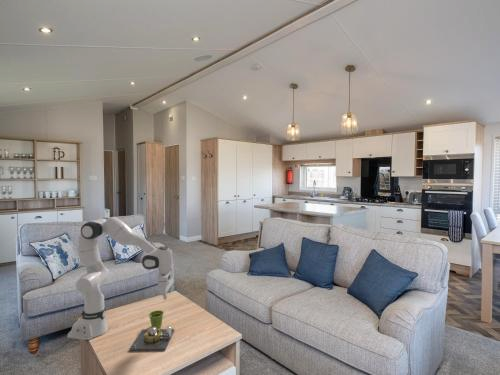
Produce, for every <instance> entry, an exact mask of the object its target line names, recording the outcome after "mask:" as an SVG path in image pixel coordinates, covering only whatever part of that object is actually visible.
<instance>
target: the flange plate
mask: <svg viewBox="0 0 500 375" xmlns="http://www.w3.org/2000/svg"><path fill="white" fill-rule="evenodd" d="M148 329H149V333H150V336H154V334H156V333H157V329H158V328H157V329H156V327H152V326H150V328H147V329H142V330H141V331H140V333H139V334H138V335H137V337H136V338H135V340H134V341H133V342H132V344H131V346H130V347H129V352H140V351H141V352H143V351H144V352H146V351H148V352H149V351H153V352H154V351H155V352H157V351H166V350H167V348H168V346H169V344H170V342H171V339H172V337H173V335H174V333H175V329H174V328H171V337H169V338H168V337H162V338H161V339H160V340H158V341H156V342H149V343H147V342H146V341H144V334H145V332H147V331H148ZM161 331H162V334H167V328H164V329H163V328H161Z"/></svg>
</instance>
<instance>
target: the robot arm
mask: <svg viewBox="0 0 500 375" xmlns="http://www.w3.org/2000/svg"><path fill="white" fill-rule="evenodd" d="M105 235H109V236H110V237H111V238H112V239H113V240H114V241H115V242H116V243H118V244H119V245H122V246H135V247H138V248H139V249H141V250H142V251H143V252H144V253H146V254H145V255H144V256H143V257H142V259H141V264H142V267H143V268H144V269H145V270H147V271H148V270H151V271H152V270H155V269H157V271H158V273H157V277H156V281H157V289H158V294H159V295H161V296H162V298H163V300H167V299H168V295H167V294H171V293H172V287H173V286H172V285H173V284H174V282H175V280H174V273H175V272H174V266H173V263H174V257H173V251H172V249H171V248H170V247H168V246H160V247H157V246H156V245H154V244H152V242H150V241H148V240H147V239H146V238H144V237H143V236H142V235H140V234H139V233H137V232H136V231H135V230H133V229H132V228H131V227H130V226H129V225H128V224H126V222H123V221H122V220H121V219H120V218H118V217H116V216H111V217H100V218H96V219H93V220H91V221H87V222H86V223H84V224H83V225H82V226H81V228H80V234H79V235H78V236H77V249H78V256H79V262H80V264H81V265H82V266H84V268H85V270H86V273H85V274H83V275H82V276H81V277H80V278H79V279H78V280H77V281H76V283H75V288H76V290H77V292H78V293H80V294H81V295H82V297H83V303H84V310H83V311H82V312H81V313H80V318H79V319H77V321H75V322H74V323H73V324H72V327H71V330H70V331H69V332H68V333H67V334H66V336H67V337H66V338H67V339H74V340H75V339H76V340H84V341H85V340H87V341H89V340H91V339H94V338H95V337H97V338H98V337H99V336H102V335H104V334H105V333H107V331H109V327H108V324H107V321H106V313H107V312H106V307H105V296H104V294H103V293H102V292H101V290H100V287H101V286H102V285H103V284H104V283H105V282H107V281H108V278H109V277H110V275H111V274H110V270H109V269H108V267H106V266H105V265H104V263H103V261H102V258H101V253H100V249H99V244H98V243H99V242H98V240H99V238H101V237H104V236H105Z"/></svg>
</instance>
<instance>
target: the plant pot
mask: <svg viewBox="0 0 500 375" xmlns="http://www.w3.org/2000/svg"><path fill="white" fill-rule="evenodd" d="M164 315H165V312H164V311H163V310H158V309H156V310H153V311H151V312H149V314H148V317H149V319H150V320H149V321H150V325H151V326H150V327H156V329H158V328H162V322H163V317H164Z"/></svg>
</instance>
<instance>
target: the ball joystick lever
mask: <svg viewBox="0 0 500 375" xmlns="http://www.w3.org/2000/svg"><path fill="white" fill-rule="evenodd" d="M147 329H148V331H147V332H145V334H144V341H146V342H147V343H149V342H156V341H158V340H160V339H161V338H162V337H168V338H169V337H171V329H172V326H171V325H168V326H167V327H166V329H167V334H162V331H161V329H162V327H160V328H157V333H156V334H154V336H150V333H149V328H147ZM171 338H172V337H171Z"/></svg>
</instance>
